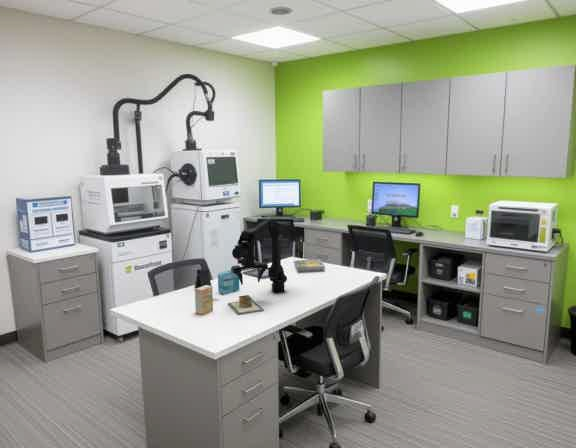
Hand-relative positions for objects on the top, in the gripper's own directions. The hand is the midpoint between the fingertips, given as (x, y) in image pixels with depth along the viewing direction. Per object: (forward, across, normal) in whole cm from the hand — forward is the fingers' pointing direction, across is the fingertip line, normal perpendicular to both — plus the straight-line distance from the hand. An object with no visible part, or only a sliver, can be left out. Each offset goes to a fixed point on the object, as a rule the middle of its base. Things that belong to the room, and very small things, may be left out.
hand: (250, 283), depth 240 cm
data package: (+12, +4, -26) cm, 29 cm away
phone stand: (+12, +16, -39) cm, 44 cm away
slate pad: (+11, +4, +4) cm, 13 cm away
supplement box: (+11, +25, +2) cm, 28 cm away
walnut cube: (+10, +4, +4) cm, 12 cm away
